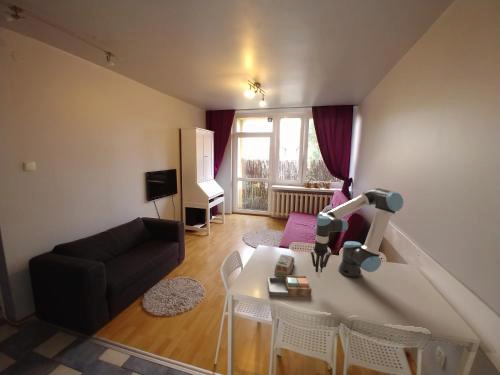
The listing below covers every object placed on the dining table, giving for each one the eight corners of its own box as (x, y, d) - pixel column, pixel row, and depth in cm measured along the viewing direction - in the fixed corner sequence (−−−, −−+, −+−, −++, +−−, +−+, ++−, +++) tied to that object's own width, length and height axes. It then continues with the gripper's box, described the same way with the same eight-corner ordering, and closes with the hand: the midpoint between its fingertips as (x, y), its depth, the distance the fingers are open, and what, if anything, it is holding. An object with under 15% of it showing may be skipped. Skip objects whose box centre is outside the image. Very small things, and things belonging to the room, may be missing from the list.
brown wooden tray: (305, 282, 150) (305, 276, 149) (310, 296, 136) (311, 288, 135) (284, 282, 150) (284, 275, 149) (287, 295, 136) (288, 288, 135)
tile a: (306, 280, 145) (306, 278, 145) (308, 286, 139) (308, 283, 139) (296, 280, 145) (296, 277, 145) (298, 286, 139) (298, 283, 139)
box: (284, 281, 151) (284, 277, 150) (288, 296, 135) (288, 292, 134) (267, 280, 151) (267, 276, 150) (269, 296, 135) (269, 291, 134)
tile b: (295, 280, 145) (296, 277, 145) (297, 286, 139) (298, 283, 139) (286, 280, 145) (286, 277, 145) (288, 285, 139) (288, 282, 139)
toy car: (294, 264, 174) (295, 252, 172) (288, 281, 151) (289, 267, 150) (281, 261, 178) (281, 249, 176) (273, 277, 155) (274, 264, 153)
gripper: (330, 239, 141) (326, 273, 145) (309, 238, 141) (306, 273, 145) (334, 244, 134) (330, 280, 137) (312, 243, 133) (309, 279, 137)
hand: (318, 276), depth 141 cm, fingers closed
